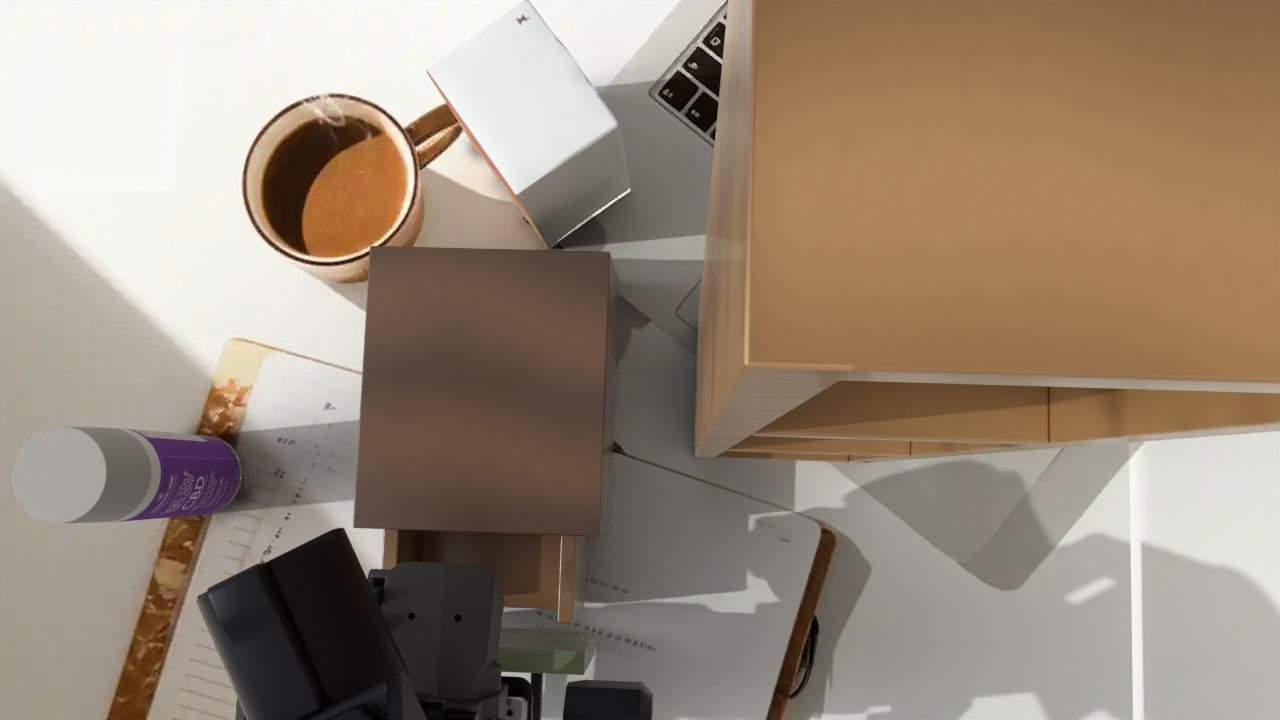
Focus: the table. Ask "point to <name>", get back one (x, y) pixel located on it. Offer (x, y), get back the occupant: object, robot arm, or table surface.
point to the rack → (990, 227)
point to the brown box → (488, 391)
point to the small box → (535, 121)
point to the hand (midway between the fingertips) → (480, 707)
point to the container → (123, 475)
